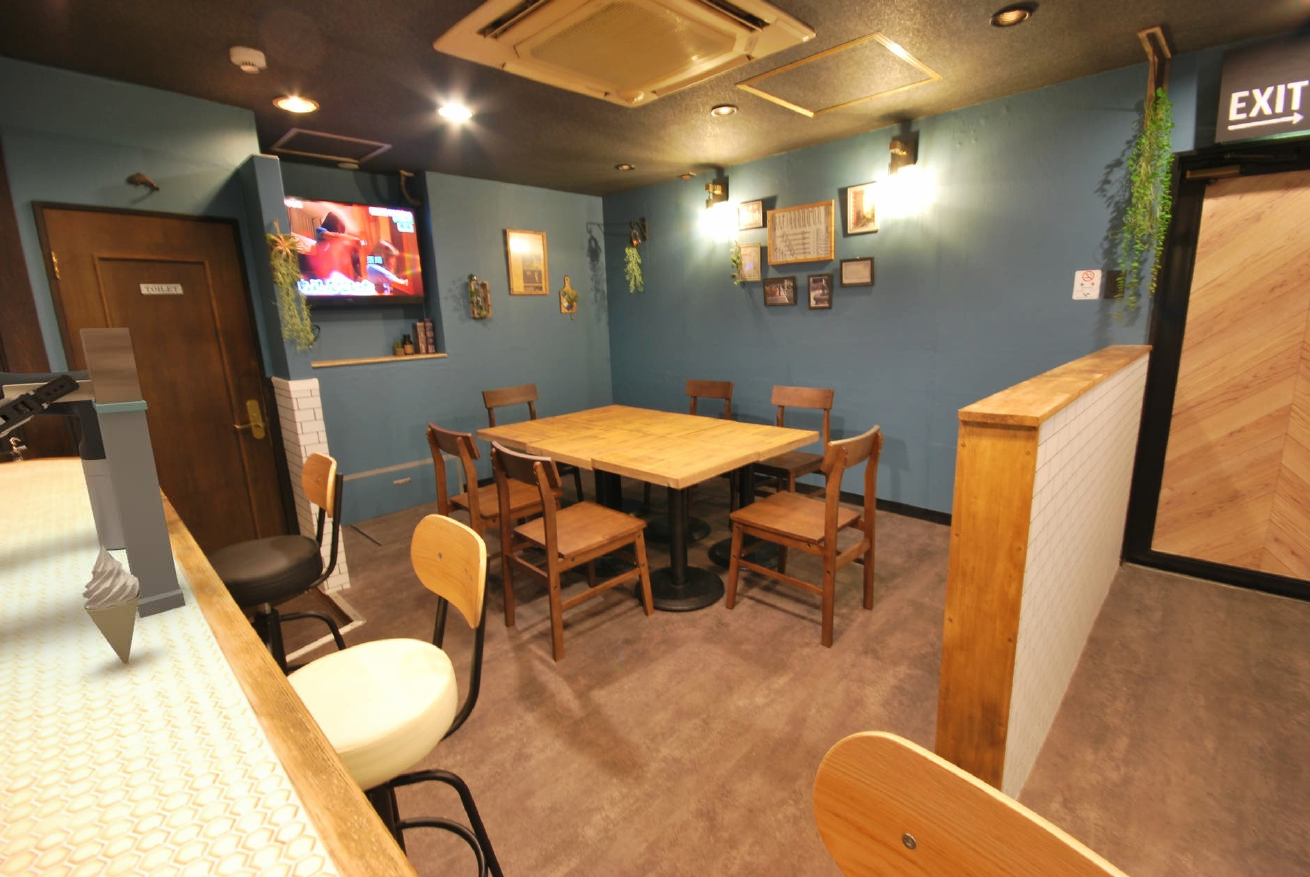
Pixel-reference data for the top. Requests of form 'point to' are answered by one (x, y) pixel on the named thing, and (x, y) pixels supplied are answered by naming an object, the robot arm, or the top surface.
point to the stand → (139, 505)
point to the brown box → (100, 370)
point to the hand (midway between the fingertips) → (73, 379)
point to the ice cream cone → (113, 602)
